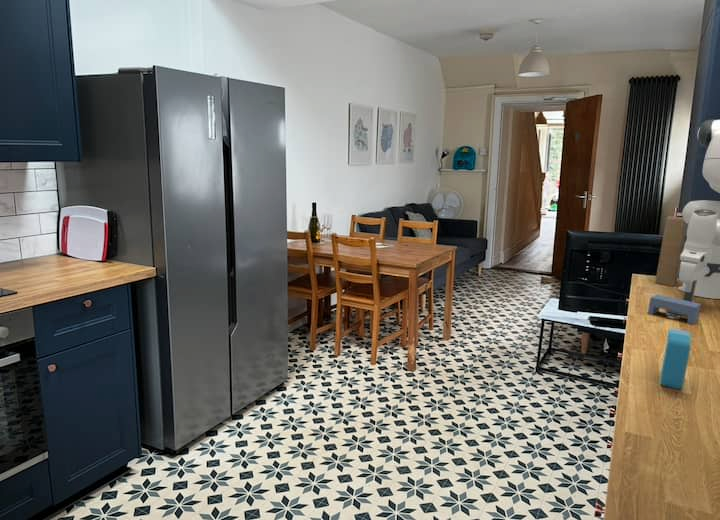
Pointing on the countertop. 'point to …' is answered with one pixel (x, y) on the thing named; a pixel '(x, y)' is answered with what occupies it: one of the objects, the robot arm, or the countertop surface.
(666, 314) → the steel token
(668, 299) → the blue-grey bridge block
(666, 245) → the decorative block
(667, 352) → the data package
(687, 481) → the countertop surface
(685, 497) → the countertop surface
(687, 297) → the scraper
